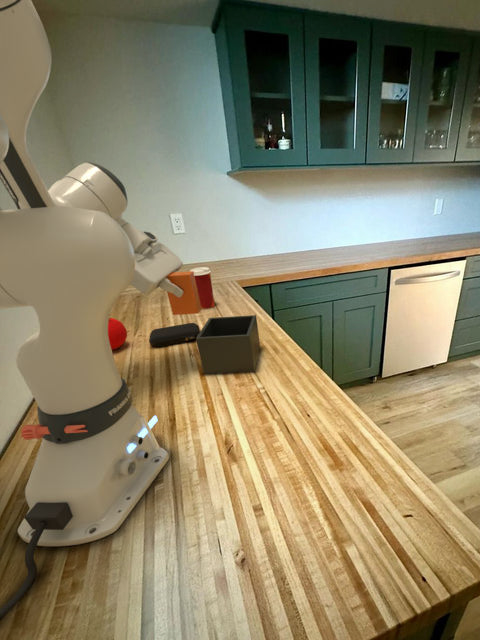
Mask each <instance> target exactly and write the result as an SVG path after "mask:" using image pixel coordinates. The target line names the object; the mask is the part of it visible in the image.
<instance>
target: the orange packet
mask: <svg viewBox="0 0 480 640" xmlns="http://www.w3.org/2000/svg"><path fill="white" fill-rule="evenodd" d="M166 278H167V279H168V280H170V282H171V283H173V284H174V285H176V286H180V287H181V288H182V289H184V291H185V292H184V293H183V295H182V296H181V297H177V296H176V295H174V294H173V293H170V292H167V291H166V293H167V299H168V302H169V305H170V310H171V313H172V315H173V316H180V315H181V316H182V315H196V314H199V313H200V312H201V310H202V308H201V304H200V300H199V295H198V290H197V286H196V281H195V276H194V272H193V271H190V270H189V271H178V272H174V273H171V274H170V275H169V276H167V277H166Z"/></svg>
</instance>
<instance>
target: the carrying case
mask: <svg viewBox="0 0 480 640" xmlns="http://www.w3.org/2000/svg"><path fill="white" fill-rule="evenodd" d="M200 331H201V329H200V326H199V325H198V324H197V323H195V322H188V323H182V324H177V325H176V324H175V325H171V326H170V325H169V326H165V327H159V328H154V329H152V330H151V332H150V333H149V340H148V343H149V344H150V345H151V346H153V347H162V346H168V345H173V344H179V343H185V342H189V341H194V340H195V341H196V337H197V336H198V334H199V333H200Z"/></svg>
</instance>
